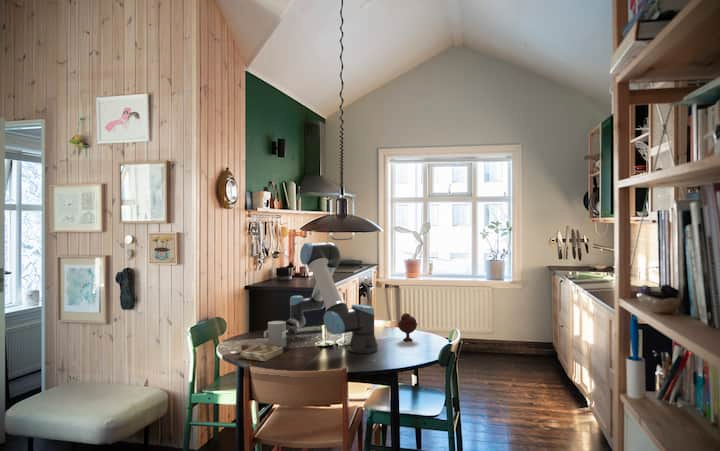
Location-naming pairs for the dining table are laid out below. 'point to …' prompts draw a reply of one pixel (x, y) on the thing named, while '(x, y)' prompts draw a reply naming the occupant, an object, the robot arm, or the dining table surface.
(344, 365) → the dining table surface
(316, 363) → the dining table surface
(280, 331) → the speckled tin can
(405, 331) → the ice cream bowl
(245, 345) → the walnut block
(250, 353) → the oak tray
